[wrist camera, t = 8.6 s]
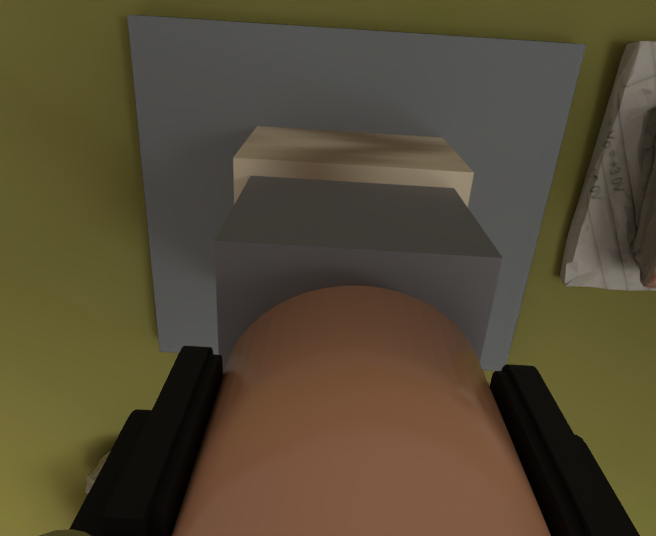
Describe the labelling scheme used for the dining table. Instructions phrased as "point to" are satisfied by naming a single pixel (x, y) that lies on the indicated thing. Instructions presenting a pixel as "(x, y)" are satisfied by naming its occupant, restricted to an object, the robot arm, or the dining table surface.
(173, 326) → the slate mat
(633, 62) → the packaged product
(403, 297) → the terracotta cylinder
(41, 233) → the dining table surface
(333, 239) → the charcoal block
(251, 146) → the birch block
